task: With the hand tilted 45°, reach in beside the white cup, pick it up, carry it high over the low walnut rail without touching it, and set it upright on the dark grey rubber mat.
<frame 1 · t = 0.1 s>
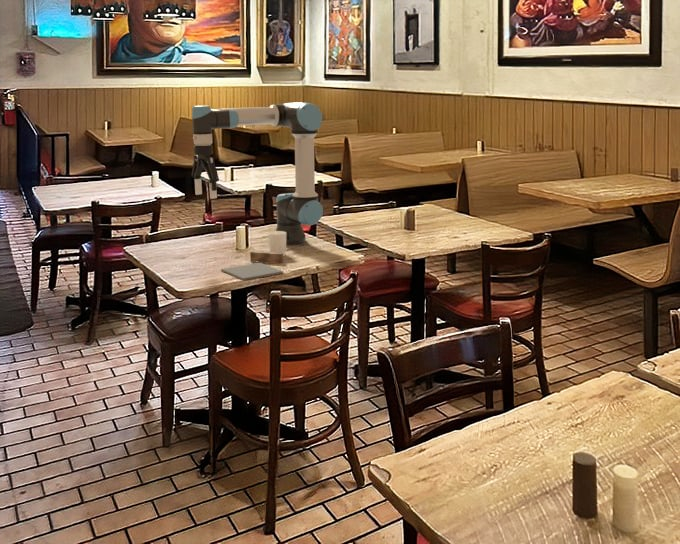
hand: (206, 196, 311), 28 cm above the table, tool pointing down, fingers open, 13 cm apart
white cup: (277, 255, 330), on the table
walnut rail: (266, 261, 318), on the table
grey mat: (251, 272, 302), on the table
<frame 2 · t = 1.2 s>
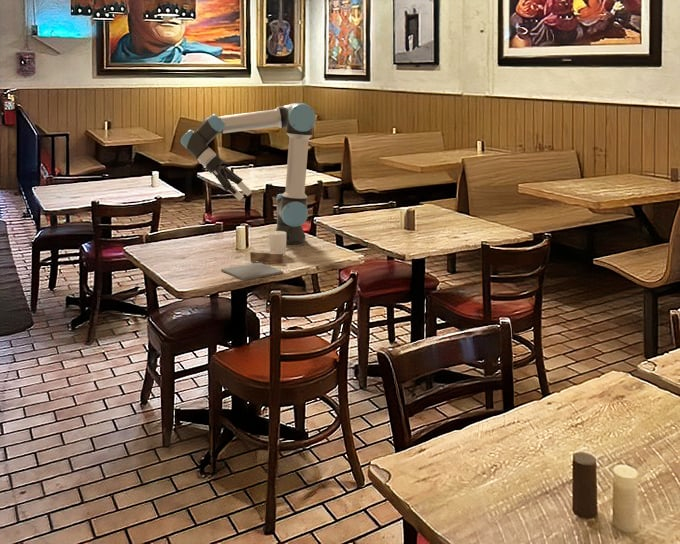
hand: (245, 196, 326), 26 cm above the table, tool tilted 45°, fingers open, 13 cm apart
nothing on the table moved.
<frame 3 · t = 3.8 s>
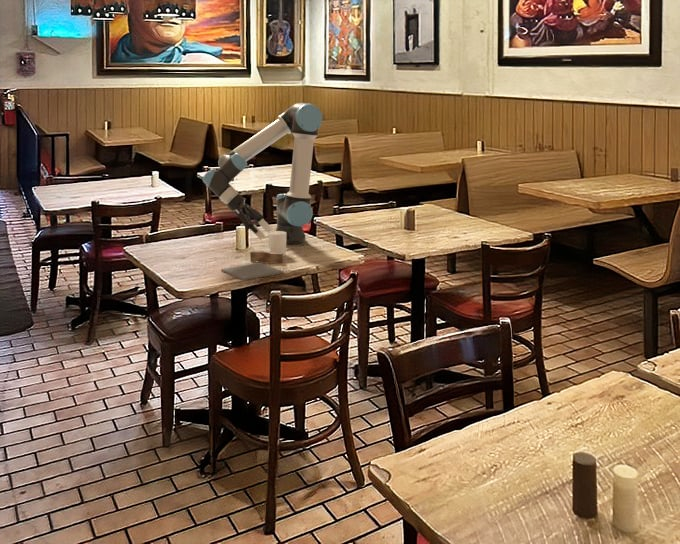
hand: (266, 234, 328), 9 cm above the table, tool tilted 45°, fingers open, 13 cm apart
nothing on the table moved.
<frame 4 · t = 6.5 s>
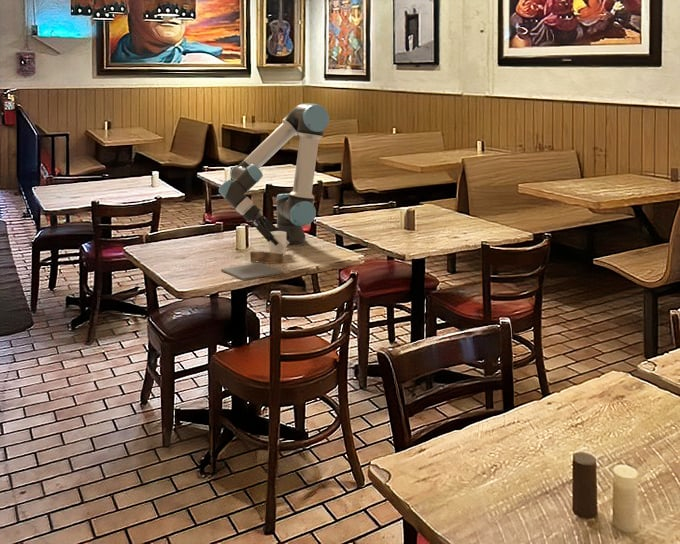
hand: (285, 247, 329), 4 cm above the table, tool tilted 45°, fingers closed on white cup, 8 cm apart
white cup: (277, 255, 330), on the table, touching gripper
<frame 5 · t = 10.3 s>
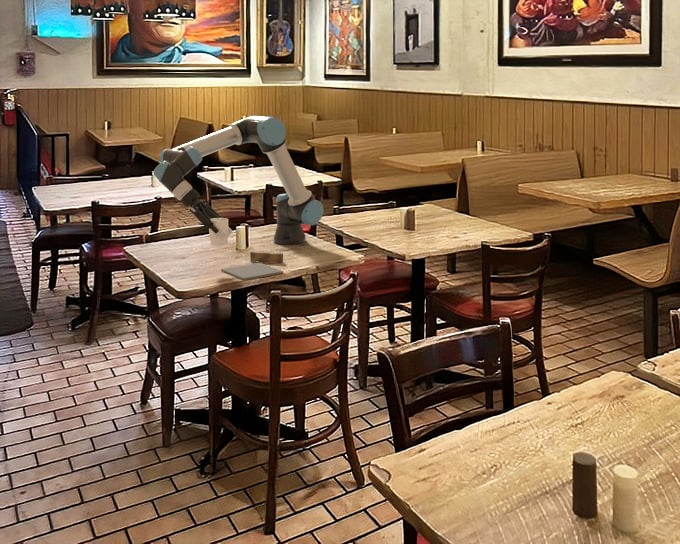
hand: (227, 235, 300), 15 cm above the table, tool tilted 45°, fingers closed on white cup, 8 cm apart
white cup: (219, 244, 301), point 11 cm above the table, touching gripper
when the fingers open (6 cm above the table, at t = 14.1 s): white cup drops 1 cm, resting on grey mat.
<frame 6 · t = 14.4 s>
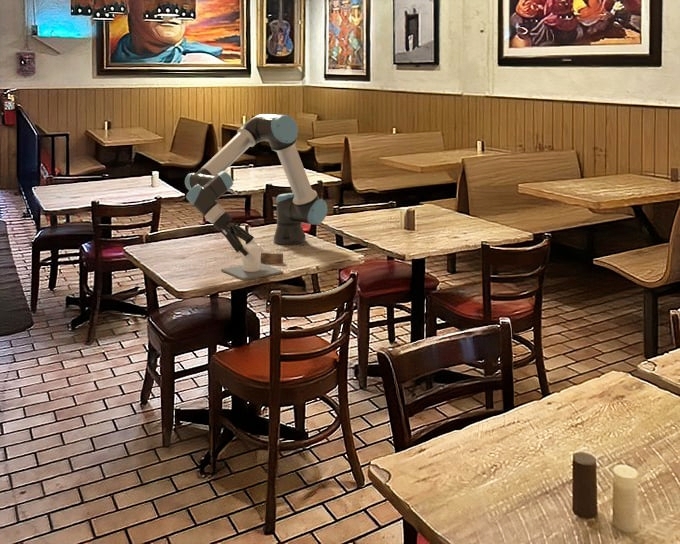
hand: (257, 256, 300), 6 cm above the table, tool tilted 45°, fingers open, 12 cm apart
white cup: (251, 270, 302), point 1 cm above the table, touching grey mat
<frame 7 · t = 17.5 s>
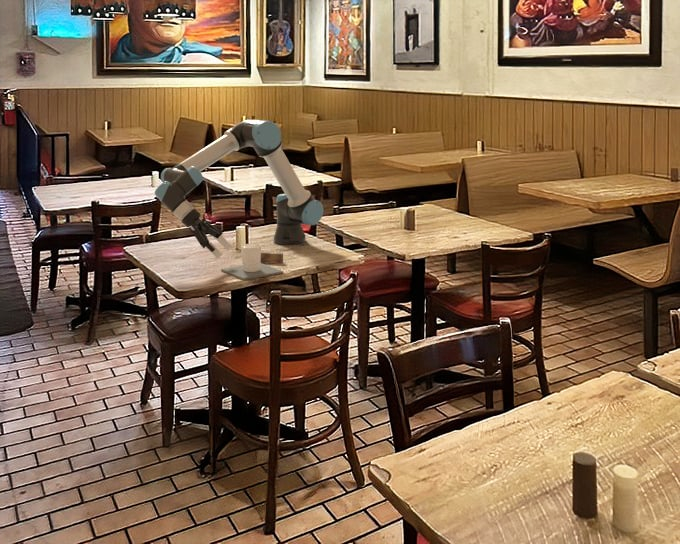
hand: (225, 252, 301), 8 cm above the table, tool tilted 45°, fingers open, 13 cm apart
nothing on the table moved.
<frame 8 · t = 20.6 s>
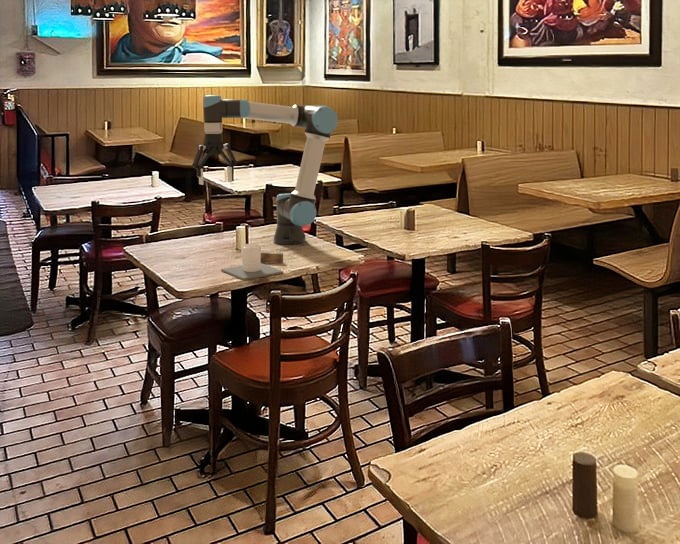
hand: (215, 183, 322), 32 cm above the table, tool pointing down, fingers open, 13 cm apart
nothing on the table moved.
at the end: white cup inside the target area on the grey mat (0.1 cm from its centre), point 0.6 cm above the grey mat's base; white cup tilted 0°; the gripper is holding nothing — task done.
